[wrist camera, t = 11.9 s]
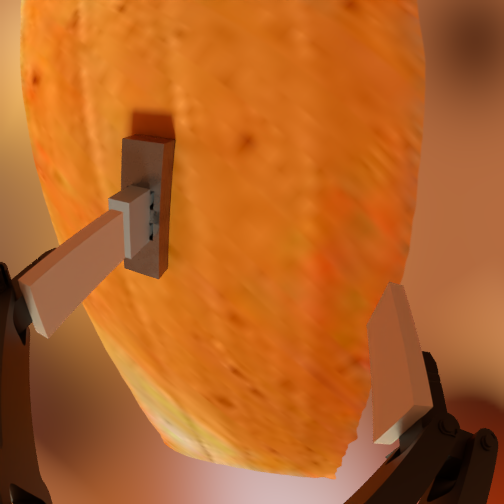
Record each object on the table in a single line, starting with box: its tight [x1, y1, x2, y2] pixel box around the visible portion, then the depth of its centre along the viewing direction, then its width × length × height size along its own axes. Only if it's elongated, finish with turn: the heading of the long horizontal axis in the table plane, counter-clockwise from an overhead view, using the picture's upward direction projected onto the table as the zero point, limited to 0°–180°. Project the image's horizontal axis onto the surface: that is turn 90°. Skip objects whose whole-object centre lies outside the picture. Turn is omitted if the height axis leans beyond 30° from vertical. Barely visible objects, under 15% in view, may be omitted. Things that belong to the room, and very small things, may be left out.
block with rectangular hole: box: [121, 134, 175, 279], centre depth 52 cm, size 26×8×4 cm, turn 170°
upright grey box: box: [109, 185, 154, 259], centre depth 49 cm, size 10×4×10 cm, turn 170°
